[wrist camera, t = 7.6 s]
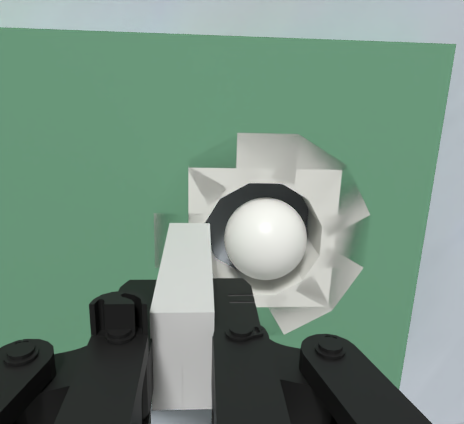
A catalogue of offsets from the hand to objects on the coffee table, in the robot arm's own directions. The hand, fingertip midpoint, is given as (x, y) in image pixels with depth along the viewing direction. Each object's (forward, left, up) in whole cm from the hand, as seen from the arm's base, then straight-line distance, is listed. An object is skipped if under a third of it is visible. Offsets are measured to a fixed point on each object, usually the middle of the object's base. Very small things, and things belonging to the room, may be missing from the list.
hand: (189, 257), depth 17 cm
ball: (+3, 0, -2) cm, 4 cm away
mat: (-2, 0, -4) cm, 5 cm away
